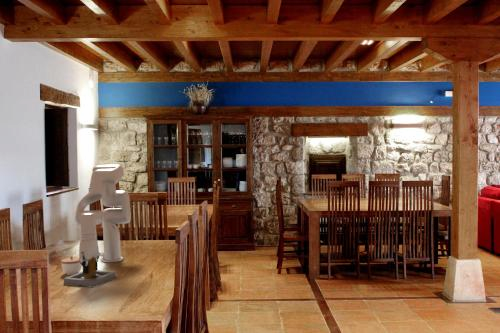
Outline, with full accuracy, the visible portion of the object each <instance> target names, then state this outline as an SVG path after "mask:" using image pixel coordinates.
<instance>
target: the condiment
mask: <svg viewBox="0 0 500 333" xmlns="http://www.w3.org/2000/svg"><path fill="white" fill-rule="evenodd" d="M85 263H86V261H85ZM87 266H88V269H89V273H88V274H84V277H81V278H83V279H88V280H89V279H94V278H96V277H100V276H101V275H98V274H96V263H95V258H94V257H92V258H91V259H90V260H88V265H87Z"/></svg>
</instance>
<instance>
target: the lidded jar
mask: <svg viewBox="0 0 500 333" xmlns="http://www.w3.org/2000/svg"><path fill="white" fill-rule="evenodd" d="M78 260H79V256H77V257H76V256H75V257H73V256H70V257H67V258H64V259H61V261H60V262H61V270H62V271H63V273H65V274H66V275H67V276H72V275H74V274H77V273H80V272H81V270H82V268H83V266H82V265H81V264H80V262H79V261H78Z"/></svg>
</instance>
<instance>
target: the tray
mask: <svg viewBox="0 0 500 333" xmlns="http://www.w3.org/2000/svg"><path fill="white" fill-rule="evenodd" d="M96 274H98V275H101V276H100V277H96V278H94V279H89V280H88V279H83V278H81V277H84V273H83V271H79V272H78V273H77V274H74V275H68V276H66V277H64V278H63V285H66V284H72V285H71V286H75V285H82V286H81V287H85V286H91V287H90V288H95V287H97V286H100V285H102V284H105V283H106V282H108V281H111V280H113V279H116V278H117V271H112V270H111V271H110V270H109V271H108V270H100V269H99V270H96ZM99 284H100V285H99ZM96 285H97V286H96ZM94 286H95V287H94Z"/></svg>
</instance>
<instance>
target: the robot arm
mask: <svg viewBox="0 0 500 333" xmlns="http://www.w3.org/2000/svg"><path fill="white" fill-rule="evenodd" d="M124 173H125V172H124V168H123V165H121V164H101V165H100V164H99V165H98V164H97V165H95V166H93V168H92V172H91V175H90V176H91V177H90V183H89V188H88V193H86V194H85V195H84V196H83V197H82V198H81V199H80V200H79V202H78V203H77V206H76V211H75V216H74V217H75V218H74V219H75V222H76V224H77V225H80V238H81V239H80V241H79V249H78V257H79V260H78V261H79V262H80V264H81V265H82V272H83V273H84V274H88V273H89V269H88V266H87V265H88V260H90V259H91V258H92V257H94V258H95V263H96V270H98V262H99V259H100V257H102V258H101V262H103V263H117V262H120V261H123V259H124V257H123V256H122V255H121V238H120V235H121V234H120V229H119V227H118V226H117V225H119V224H120V225H121V224H123V225H124V224H129V223H130V222H131V220H132V213H131V200H130V199H131V198H130V194H129V193H128V191H127V190H117V187H116V186H117V185H116V184H117V183H119V182H120V181H121V180H122V179H123V177H124ZM99 200H102V205H103V206H104V207H108V208H105V209H103V210H99V209H98V210H86V208H87V207H88V206H89V205H91V204H93V203H95V202H97V201H99ZM109 207H110V208H109ZM101 224H102V232H103V233H102V234H103V252H102V251H101V252H100V249H99V248H100V247H99V241H98V236H97V226H98V225H101ZM85 261H86V263H85Z"/></svg>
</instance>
